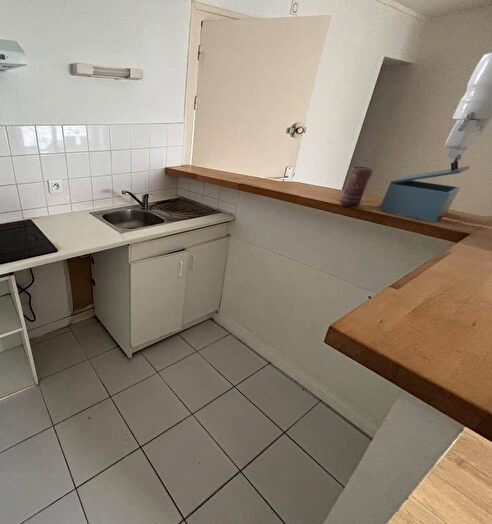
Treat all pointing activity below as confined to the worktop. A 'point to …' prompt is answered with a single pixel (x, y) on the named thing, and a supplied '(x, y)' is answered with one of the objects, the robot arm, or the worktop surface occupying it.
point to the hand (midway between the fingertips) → (452, 161)
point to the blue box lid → (453, 169)
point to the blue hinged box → (419, 199)
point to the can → (355, 186)
